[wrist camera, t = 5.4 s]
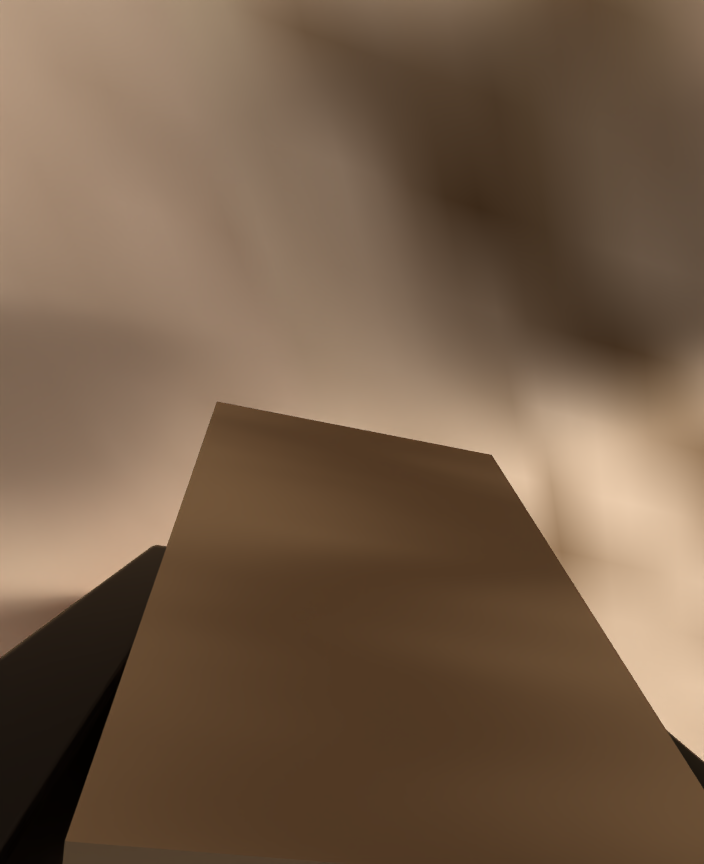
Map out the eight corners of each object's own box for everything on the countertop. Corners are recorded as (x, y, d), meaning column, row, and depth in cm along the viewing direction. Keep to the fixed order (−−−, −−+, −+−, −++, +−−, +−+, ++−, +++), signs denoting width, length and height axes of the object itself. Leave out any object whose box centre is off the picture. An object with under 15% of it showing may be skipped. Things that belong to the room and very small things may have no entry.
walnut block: (491, 455, 9) (772, 898, 4) (416, 662, 11) (537, 1196, 5) (217, 401, 9) (64, 840, 3) (178, 630, 10) (29, 1200, 5)
